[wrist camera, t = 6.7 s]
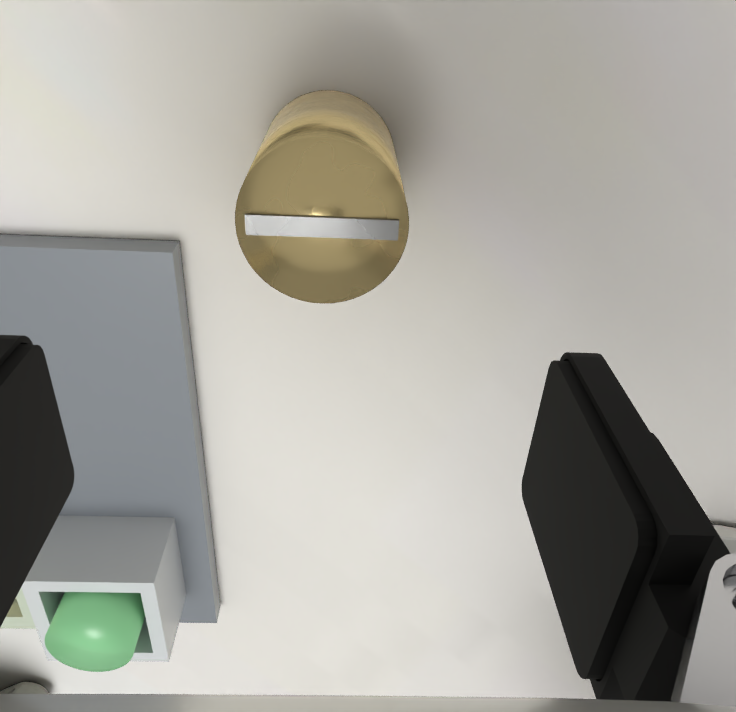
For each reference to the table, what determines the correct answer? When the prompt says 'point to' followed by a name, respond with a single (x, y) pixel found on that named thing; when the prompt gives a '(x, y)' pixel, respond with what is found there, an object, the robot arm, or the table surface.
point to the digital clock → (25, 689)
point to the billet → (324, 201)
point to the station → (117, 430)
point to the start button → (95, 630)
